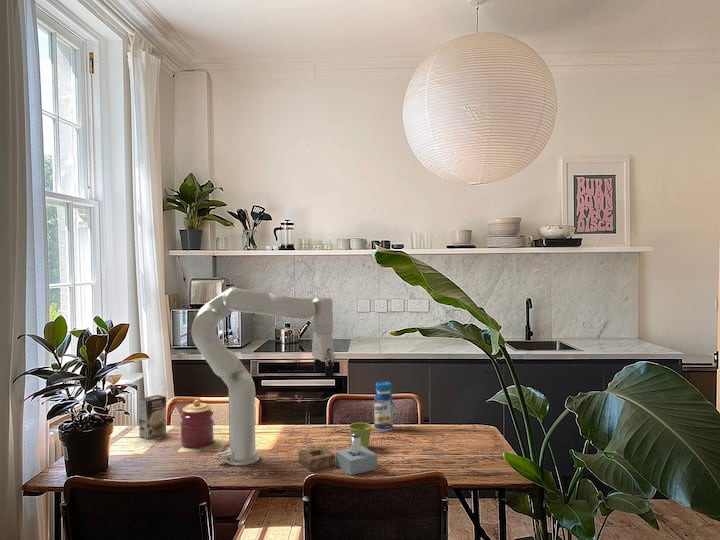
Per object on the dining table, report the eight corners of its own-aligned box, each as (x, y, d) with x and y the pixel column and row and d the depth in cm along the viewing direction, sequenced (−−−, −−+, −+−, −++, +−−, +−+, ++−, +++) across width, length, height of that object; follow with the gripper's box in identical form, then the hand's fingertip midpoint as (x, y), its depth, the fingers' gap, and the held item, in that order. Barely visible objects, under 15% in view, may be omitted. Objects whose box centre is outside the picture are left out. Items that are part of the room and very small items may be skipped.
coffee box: (147, 439, 226) (147, 401, 226) (138, 436, 230) (138, 398, 230) (166, 433, 234) (166, 396, 234) (158, 430, 238) (157, 394, 237)
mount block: (310, 471, 191) (309, 459, 191) (298, 462, 200) (298, 451, 200) (335, 465, 196) (335, 454, 196) (323, 456, 205) (322, 446, 205)
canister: (188, 450, 213) (188, 406, 212) (175, 442, 222) (174, 399, 222) (219, 443, 221) (218, 400, 221) (205, 435, 231) (204, 394, 230)
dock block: (350, 475, 187) (350, 460, 187) (335, 464, 197) (335, 451, 197) (377, 468, 193) (377, 454, 193) (362, 459, 202) (361, 445, 202)
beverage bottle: (397, 427, 239) (396, 382, 238) (385, 432, 232) (384, 386, 232) (382, 424, 244) (382, 380, 244) (370, 428, 238) (369, 383, 238)
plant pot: (360, 442, 221) (360, 421, 220) (377, 447, 214) (377, 426, 214) (343, 448, 214) (343, 426, 214) (360, 454, 207) (360, 431, 207)
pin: (354, 469, 193) (354, 435, 192) (350, 466, 195) (349, 433, 195) (362, 467, 194) (362, 434, 194) (357, 464, 197) (357, 431, 197)
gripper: (305, 327, 215) (305, 370, 215) (324, 333, 200) (324, 379, 200) (322, 326, 219) (322, 368, 219) (342, 331, 204) (342, 376, 204)
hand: (323, 373), depth 210 cm, fingers open, 9 cm apart
